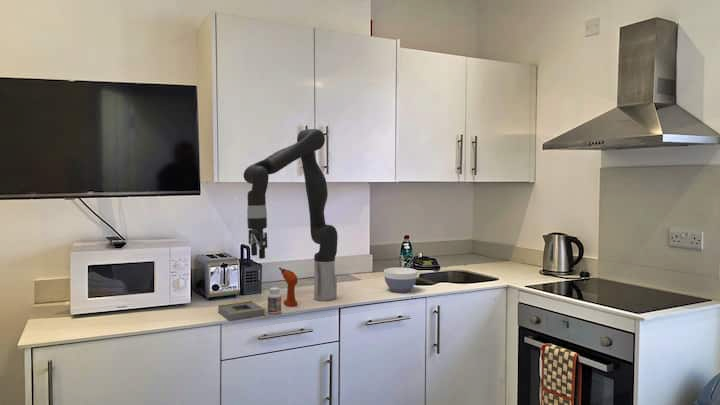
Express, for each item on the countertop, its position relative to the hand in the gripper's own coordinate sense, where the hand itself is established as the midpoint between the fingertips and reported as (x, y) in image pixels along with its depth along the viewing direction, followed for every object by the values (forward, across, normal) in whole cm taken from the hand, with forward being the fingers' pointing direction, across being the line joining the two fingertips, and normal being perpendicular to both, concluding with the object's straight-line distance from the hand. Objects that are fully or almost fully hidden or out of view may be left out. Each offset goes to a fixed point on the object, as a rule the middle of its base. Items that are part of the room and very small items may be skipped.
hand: (258, 256), depth 202 cm
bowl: (+24, +2, -72) cm, 76 cm away
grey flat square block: (+22, +1, +7) cm, 23 cm away
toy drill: (+23, +9, -16) cm, 29 cm away
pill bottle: (+23, -3, -5) cm, 24 cm away
